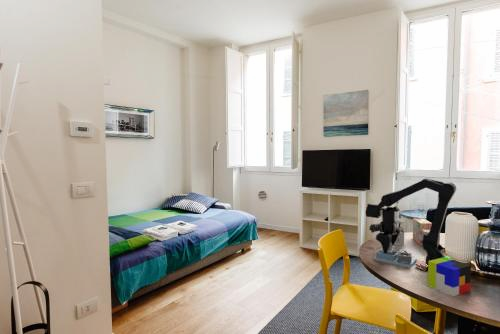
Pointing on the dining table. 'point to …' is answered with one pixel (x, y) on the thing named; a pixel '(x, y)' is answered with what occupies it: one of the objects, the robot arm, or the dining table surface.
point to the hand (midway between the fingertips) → (388, 250)
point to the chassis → (393, 259)
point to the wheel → (404, 257)
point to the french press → (400, 234)
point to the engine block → (390, 250)
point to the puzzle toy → (449, 276)
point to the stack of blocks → (420, 229)
